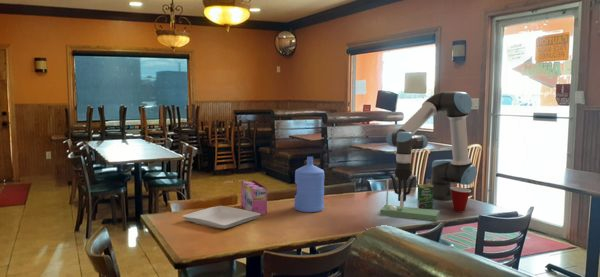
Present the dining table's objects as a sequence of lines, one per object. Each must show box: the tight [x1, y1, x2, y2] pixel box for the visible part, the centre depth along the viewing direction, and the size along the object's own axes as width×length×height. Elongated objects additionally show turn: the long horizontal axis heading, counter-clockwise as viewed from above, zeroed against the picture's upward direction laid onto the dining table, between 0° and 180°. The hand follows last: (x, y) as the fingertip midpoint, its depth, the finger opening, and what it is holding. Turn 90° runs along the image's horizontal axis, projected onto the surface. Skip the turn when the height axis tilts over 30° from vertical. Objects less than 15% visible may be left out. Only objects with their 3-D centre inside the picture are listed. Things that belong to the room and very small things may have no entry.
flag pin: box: [385, 179, 389, 206], centre depth 250 cm, size 4×1×14 cm, turn 158°
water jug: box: [293, 156, 325, 213], centre depth 250 cm, size 16×16×28 cm
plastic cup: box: [450, 186, 472, 213], centre depth 254 cm, size 11×11×12 cm
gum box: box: [240, 180, 268, 216], centre depth 248 cm, size 24×8×14 cm, turn 22°
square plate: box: [181, 205, 261, 230], centre depth 225 cm, size 27×27×4 cm
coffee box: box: [416, 183, 434, 209], centre depth 258 cm, size 8×3×13 cm, turn 92°
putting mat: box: [379, 204, 440, 222], centre depth 243 cm, size 12×28×2 cm, turn 68°
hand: (401, 207), depth 243 cm, fingers closed
